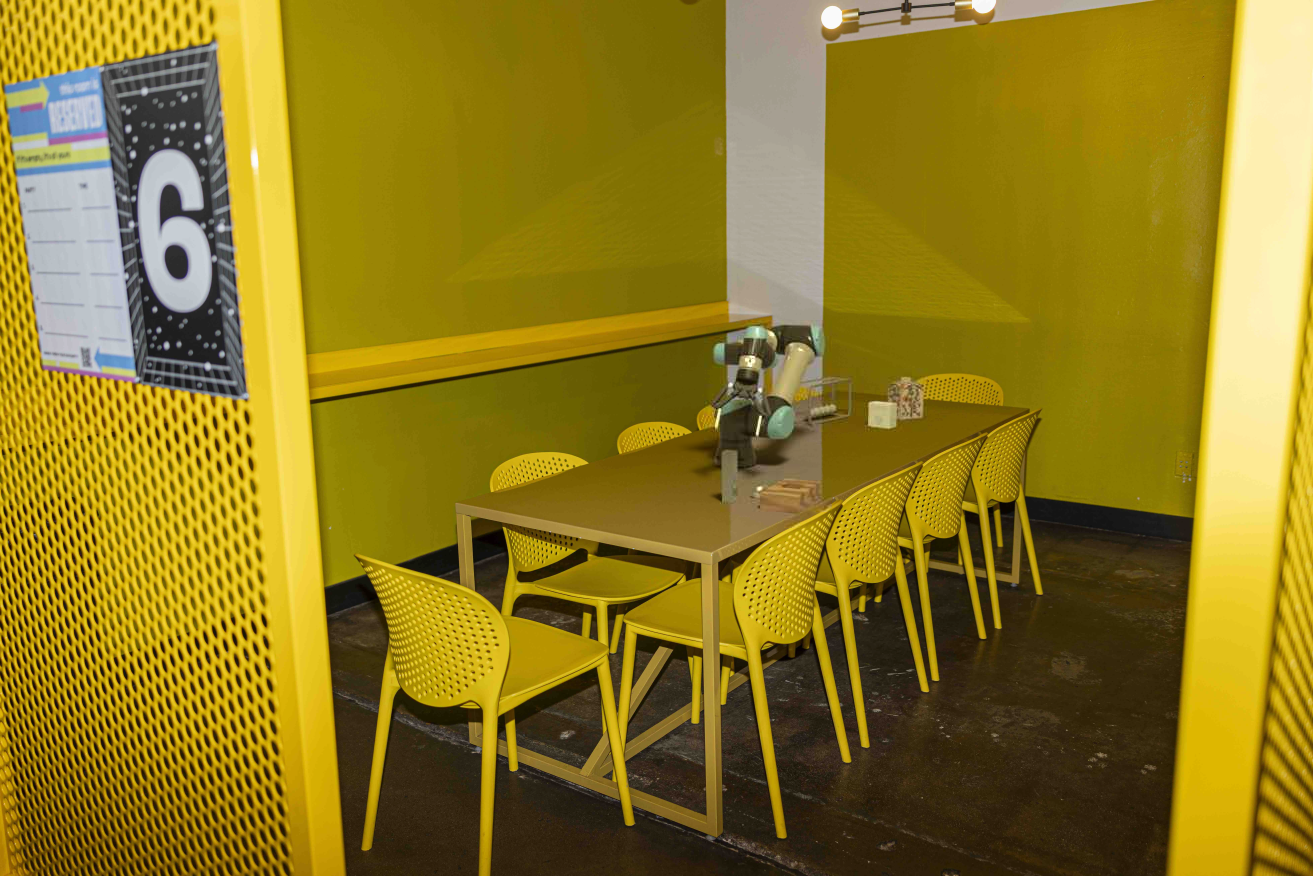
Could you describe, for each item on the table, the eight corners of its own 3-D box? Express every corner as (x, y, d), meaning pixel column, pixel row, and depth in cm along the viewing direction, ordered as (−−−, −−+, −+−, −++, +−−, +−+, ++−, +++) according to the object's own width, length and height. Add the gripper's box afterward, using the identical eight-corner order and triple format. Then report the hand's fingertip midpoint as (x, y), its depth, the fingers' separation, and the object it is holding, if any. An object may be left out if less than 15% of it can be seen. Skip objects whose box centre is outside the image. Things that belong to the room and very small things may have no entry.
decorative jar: (886, 416, 443) (887, 376, 439) (909, 414, 446) (910, 375, 443) (900, 420, 432) (901, 380, 428) (923, 418, 435) (925, 378, 432)
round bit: (763, 490, 319) (763, 480, 318) (773, 491, 317) (773, 481, 316) (751, 498, 310) (751, 487, 309) (761, 499, 308) (761, 488, 308)
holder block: (784, 493, 314) (785, 478, 313) (820, 497, 308) (820, 482, 307) (760, 508, 297) (760, 492, 296) (797, 513, 291) (797, 497, 290)
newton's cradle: (809, 426, 424) (810, 385, 420) (790, 423, 431) (791, 383, 428) (851, 416, 444) (852, 377, 440) (832, 414, 451) (833, 375, 448)
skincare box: (896, 426, 418) (897, 402, 416) (889, 429, 413) (890, 404, 411) (874, 424, 425) (875, 400, 423) (867, 426, 420) (868, 402, 418)
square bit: (727, 499, 308) (726, 449, 305) (737, 500, 307) (737, 450, 304) (722, 502, 305) (721, 452, 302) (732, 503, 304) (732, 453, 300)
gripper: (711, 361, 325) (698, 422, 321) (786, 374, 322) (774, 435, 317) (712, 368, 333) (700, 428, 328) (785, 381, 329) (773, 441, 324)
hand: (736, 432), depth 322 cm, fingers open, 13 cm apart
